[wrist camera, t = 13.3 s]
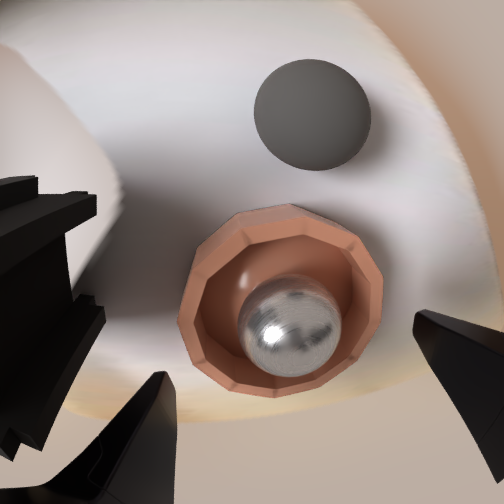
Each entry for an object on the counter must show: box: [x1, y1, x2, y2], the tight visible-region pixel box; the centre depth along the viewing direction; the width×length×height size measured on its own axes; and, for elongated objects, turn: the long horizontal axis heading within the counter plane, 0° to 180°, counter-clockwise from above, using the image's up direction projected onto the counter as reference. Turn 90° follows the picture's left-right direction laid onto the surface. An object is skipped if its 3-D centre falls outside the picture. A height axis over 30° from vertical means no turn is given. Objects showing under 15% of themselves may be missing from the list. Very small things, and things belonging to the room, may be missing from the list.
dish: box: [177, 204, 383, 398], centre depth 12 cm, size 8×8×2 cm
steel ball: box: [237, 274, 342, 377], centre depth 11 cm, size 4×4×4 cm
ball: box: [254, 59, 371, 171], centre depth 9 cm, size 4×4×4 cm
